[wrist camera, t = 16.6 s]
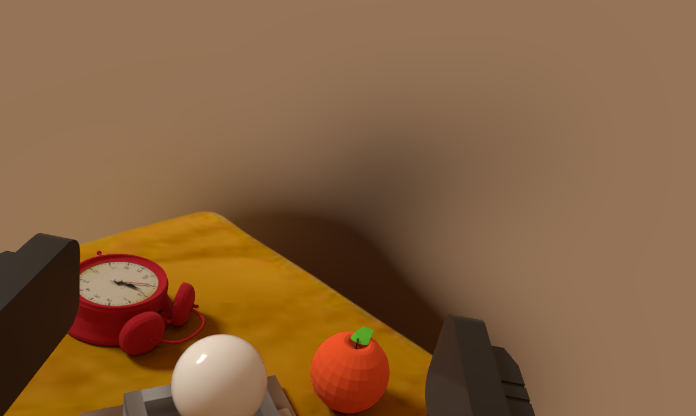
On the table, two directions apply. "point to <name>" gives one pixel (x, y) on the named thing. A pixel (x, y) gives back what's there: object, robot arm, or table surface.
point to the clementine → (350, 371)
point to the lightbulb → (219, 378)
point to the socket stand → (160, 412)
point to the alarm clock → (129, 303)
